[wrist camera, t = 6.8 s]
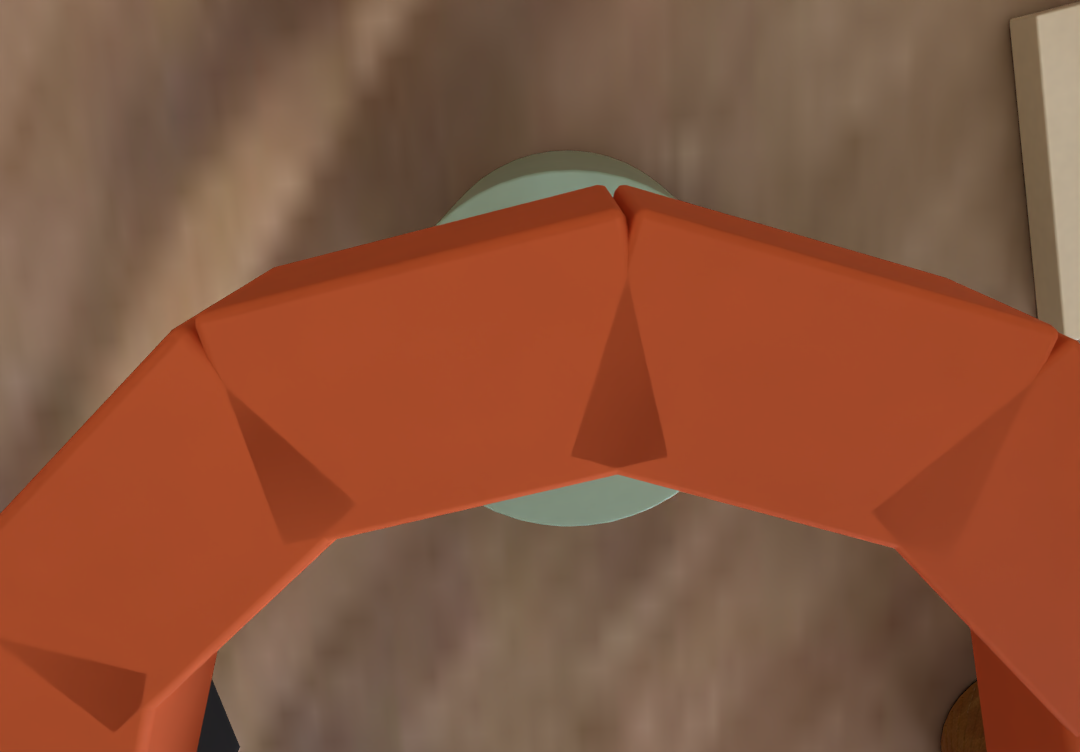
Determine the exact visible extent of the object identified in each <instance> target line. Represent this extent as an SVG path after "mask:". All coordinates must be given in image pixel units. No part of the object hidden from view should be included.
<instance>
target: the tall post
mask: <svg viewBox="0 0 1080 752" xmlns="http://www.w3.org/2000/svg"><path fill="white" fill-rule="evenodd" d="M1010 32H1011V43H1012V53H1013V63H1014V74H1015V84H1016V95H1017V105H1018V116H1019V126H1020V136H1021V147H1022V157H1023V168H1024V178H1025V188H1026V199H1027V209H1028V220H1029V230H1030V240H1031V251H1032V261H1033V272H1034V282H1035V293H1036V303H1037V313H1038V319H1039V320H1041V321H1043V322H1046V323H1048V324H1050V325H1052V326H1053V327H1054V328H1055V329H1056V330H1057V331H1058V332H1059V333H1061V334H1063V335H1066V336H1068V337H1070V338H1072V339H1074V340H1079V339H1080V1H1079V2H1075V3H1071V4H1067V5H1063V6H1059V7H1056V8H1052V9H1048V10H1044V11H1040V12H1036V13H1032V14H1029V15H1025V16H1021V17H1017V18H1013V19H1011V20H1010Z"/></svg>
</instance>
